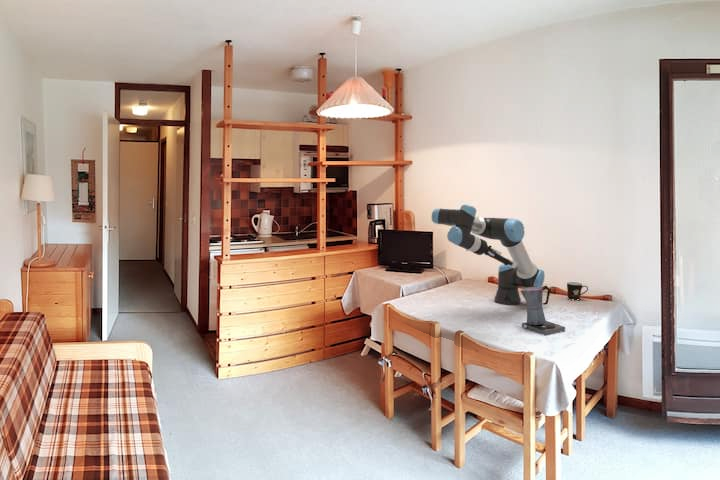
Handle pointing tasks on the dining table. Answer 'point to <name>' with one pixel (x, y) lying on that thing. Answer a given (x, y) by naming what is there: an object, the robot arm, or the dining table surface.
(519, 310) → the dining table surface
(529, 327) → the hot plate
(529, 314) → the moka pot
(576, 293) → the coffee mug
